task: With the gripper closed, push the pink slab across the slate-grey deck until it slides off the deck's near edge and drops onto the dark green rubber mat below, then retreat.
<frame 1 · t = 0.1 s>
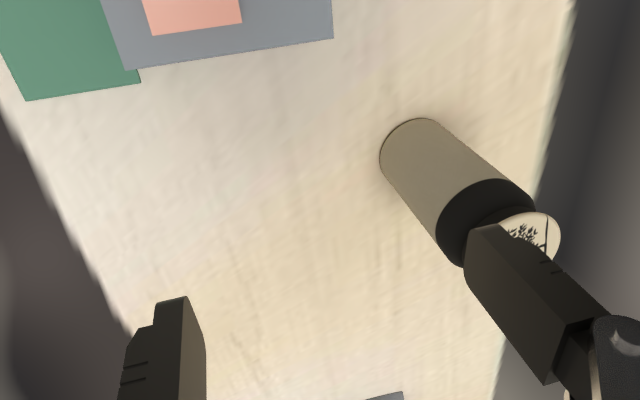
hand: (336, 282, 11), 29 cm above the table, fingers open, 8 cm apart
travel mug: (412, 151, 45), on the table
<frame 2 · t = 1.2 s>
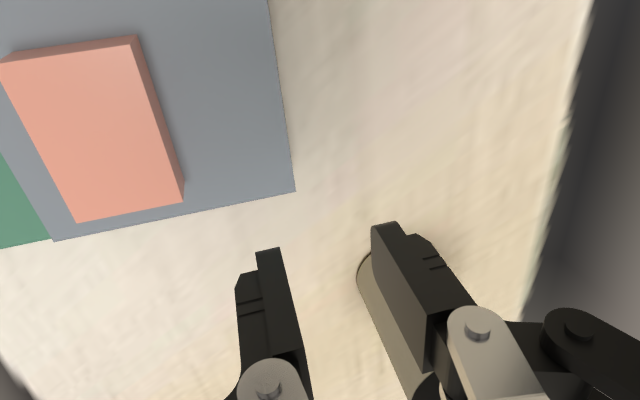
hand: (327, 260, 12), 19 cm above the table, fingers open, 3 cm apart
travel mug: (392, 268, 41), on the table
pink slab: (105, 133, 22), point 5 cm above the table, touching deck
deck: (152, 96, 27), on the table
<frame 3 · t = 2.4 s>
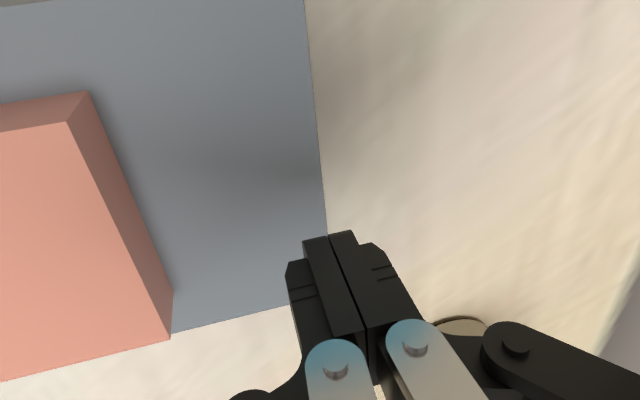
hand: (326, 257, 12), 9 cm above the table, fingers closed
travel mug: (440, 348, 33), on the table
pink slab: (40, 248, 14), point 5 cm above the table, touching deck
deck: (125, 163, 18), on the table
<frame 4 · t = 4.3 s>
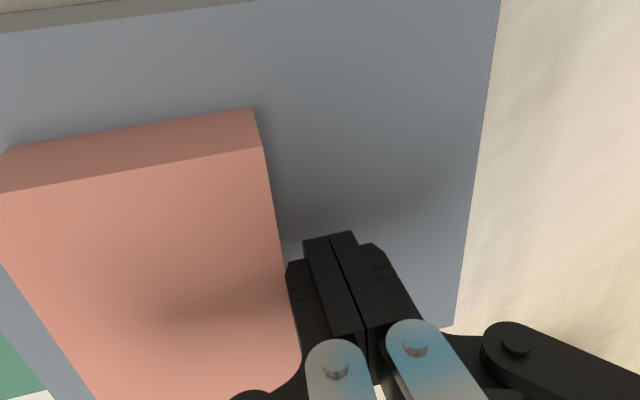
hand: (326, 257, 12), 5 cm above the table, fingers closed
pink slab: (180, 285, 12), point 5 cm above the table, touching gripper
deck: (238, 183, 17), on the table
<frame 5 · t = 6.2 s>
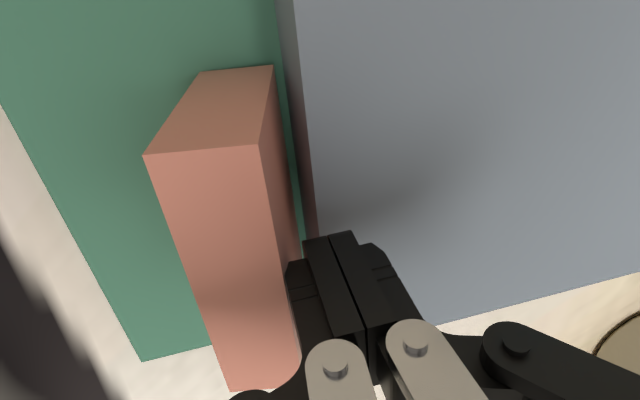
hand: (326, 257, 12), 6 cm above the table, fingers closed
travel mug: (634, 336, 32), on the table
pink slab: (251, 228, 14), point 3 cm above the table, tilted 101°, touching mat
mat: (184, 189, 16), on the table
deck: (472, 133, 18), on the table
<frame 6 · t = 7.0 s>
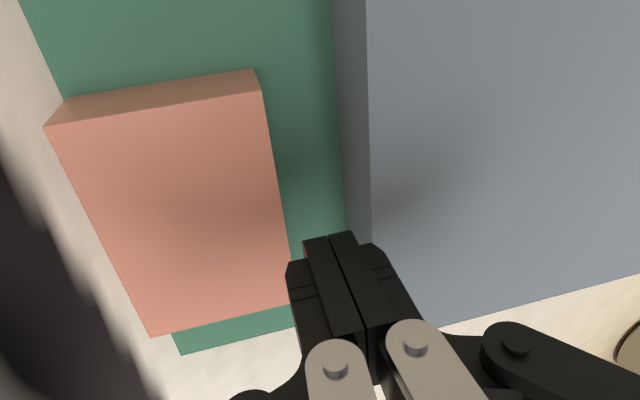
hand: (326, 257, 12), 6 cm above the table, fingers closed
pink slab: (197, 212, 15), point 2 cm above the table, tilted 180°, touching mat
mat: (232, 183, 17), on the table
deck: (511, 128, 18), on the table
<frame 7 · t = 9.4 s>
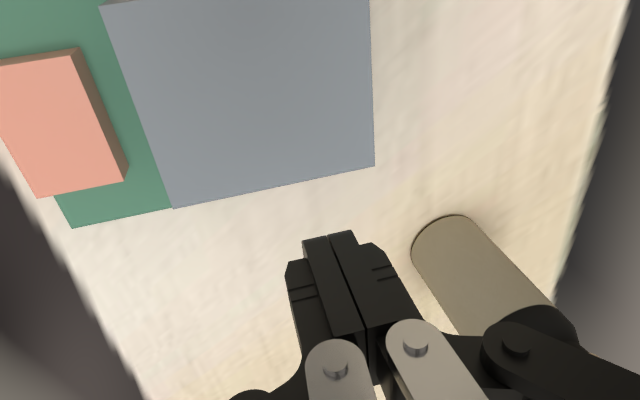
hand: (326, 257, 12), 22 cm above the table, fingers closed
travel mug: (442, 242, 45), on the table
pink slab: (57, 125, 28), point 2 cm above the table, tilted 180°, touching mat
mat: (83, 114, 30), on the table
deck: (254, 83, 31), on the table
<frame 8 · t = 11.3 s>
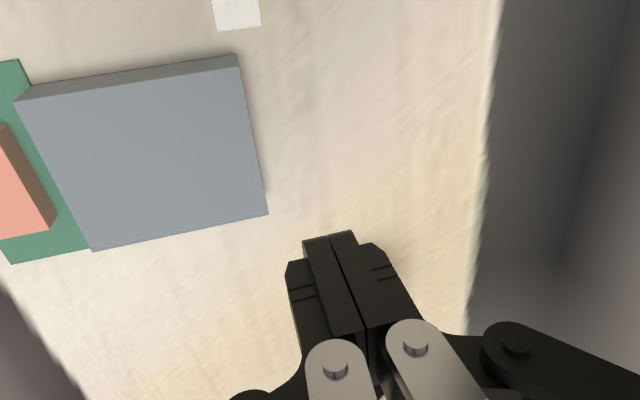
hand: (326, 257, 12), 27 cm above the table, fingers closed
mat: (15, 173, 35), on the table
deck: (163, 146, 37), on the table
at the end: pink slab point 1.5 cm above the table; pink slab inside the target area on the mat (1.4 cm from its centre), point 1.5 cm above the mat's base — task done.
